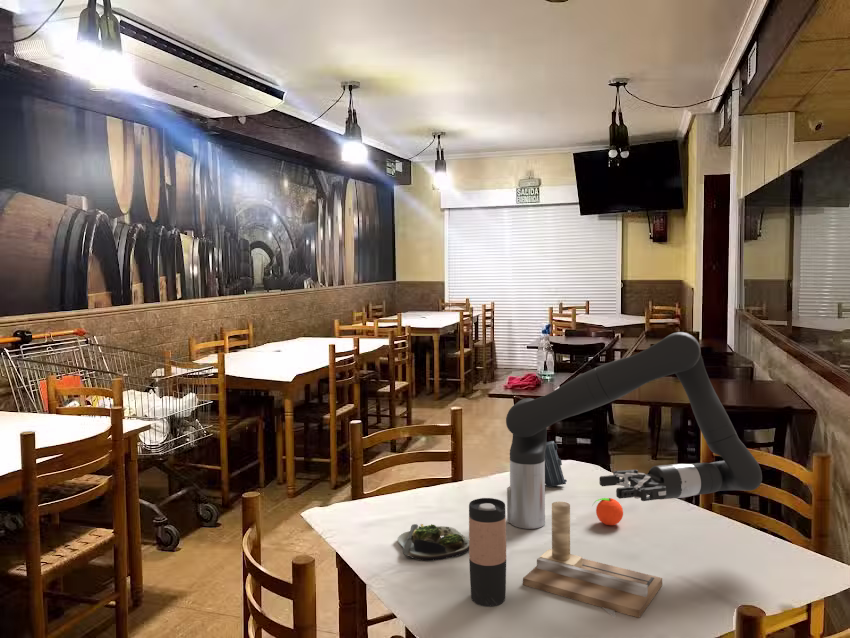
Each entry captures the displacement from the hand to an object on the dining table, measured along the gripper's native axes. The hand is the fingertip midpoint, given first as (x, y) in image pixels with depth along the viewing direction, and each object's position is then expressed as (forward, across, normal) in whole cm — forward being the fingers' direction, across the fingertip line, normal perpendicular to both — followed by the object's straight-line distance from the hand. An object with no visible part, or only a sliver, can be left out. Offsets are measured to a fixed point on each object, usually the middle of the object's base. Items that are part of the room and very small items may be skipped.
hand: (608, 487), depth 148 cm
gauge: (+12, 0, +17) cm, 21 cm away
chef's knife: (+7, +12, +19) cm, 24 cm away
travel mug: (+31, +8, +18) cm, 37 cm away
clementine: (-11, -24, +19) cm, 32 cm away
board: (+7, +7, +19) cm, 21 cm away
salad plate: (+37, -20, +19) cm, 46 cm away
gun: (-5, -58, +18) cm, 61 cm away
